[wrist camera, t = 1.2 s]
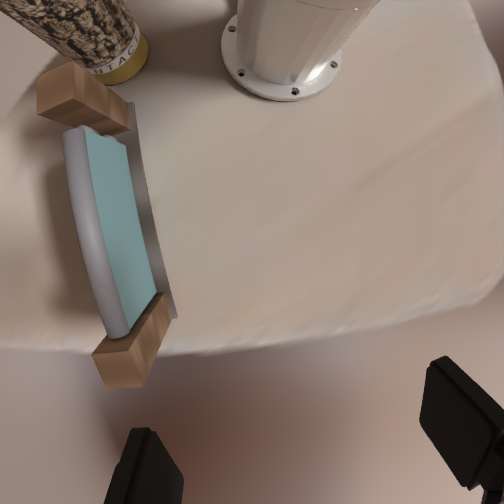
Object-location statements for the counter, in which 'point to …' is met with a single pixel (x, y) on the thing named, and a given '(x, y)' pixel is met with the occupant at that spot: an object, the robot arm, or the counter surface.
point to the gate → (108, 227)
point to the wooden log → (86, 34)
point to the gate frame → (125, 129)
